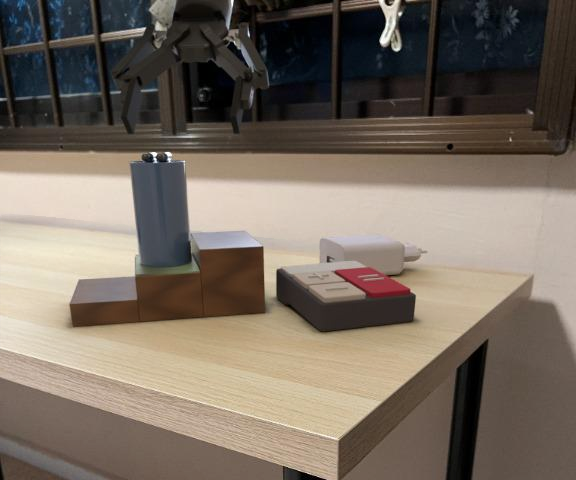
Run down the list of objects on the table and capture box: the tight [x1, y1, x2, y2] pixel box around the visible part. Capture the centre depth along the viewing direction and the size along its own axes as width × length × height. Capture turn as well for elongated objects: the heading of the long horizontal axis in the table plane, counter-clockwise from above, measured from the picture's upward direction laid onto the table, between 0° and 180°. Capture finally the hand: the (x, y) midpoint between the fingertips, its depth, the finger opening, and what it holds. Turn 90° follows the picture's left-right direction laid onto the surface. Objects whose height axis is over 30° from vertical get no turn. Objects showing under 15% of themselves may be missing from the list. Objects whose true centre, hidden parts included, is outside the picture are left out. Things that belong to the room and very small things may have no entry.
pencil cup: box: [128, 151, 192, 267], centre depth 68 cm, size 6×6×12 cm
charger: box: [319, 233, 429, 276], centre depth 89 cm, size 5×9×15 cm
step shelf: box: [68, 230, 266, 327], centre depth 71 cm, size 21×12×8 cm, turn 103°
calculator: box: [275, 261, 417, 333], centre depth 70 cm, size 11×4×15 cm
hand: (180, 125), depth 75 cm, fingers open, 13 cm apart
